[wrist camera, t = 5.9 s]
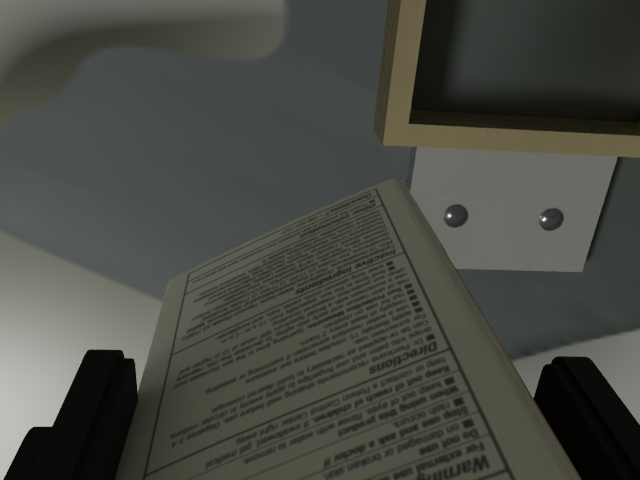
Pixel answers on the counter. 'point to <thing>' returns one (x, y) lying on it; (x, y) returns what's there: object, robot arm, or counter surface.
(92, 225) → the counter surface
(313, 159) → the counter surface
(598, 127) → the wooden flat frame
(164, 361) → the skincare box
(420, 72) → the counter surface
